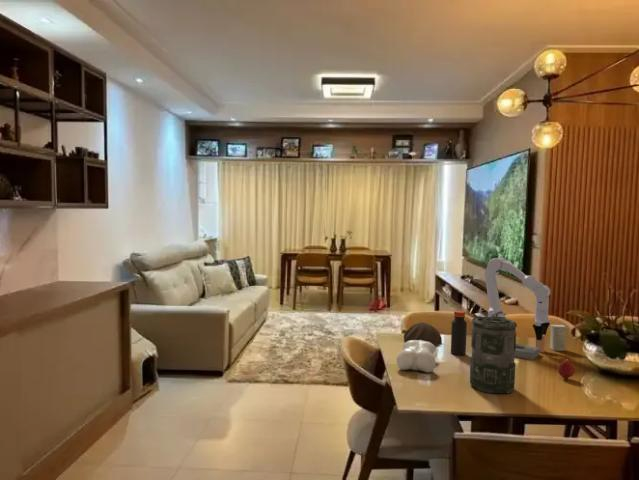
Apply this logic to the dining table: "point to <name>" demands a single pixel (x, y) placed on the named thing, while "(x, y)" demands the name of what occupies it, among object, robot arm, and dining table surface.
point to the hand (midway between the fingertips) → (540, 338)
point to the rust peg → (541, 344)
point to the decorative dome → (423, 333)
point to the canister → (493, 354)
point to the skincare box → (558, 337)
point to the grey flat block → (526, 352)
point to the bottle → (458, 334)
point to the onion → (566, 369)
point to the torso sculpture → (417, 356)
